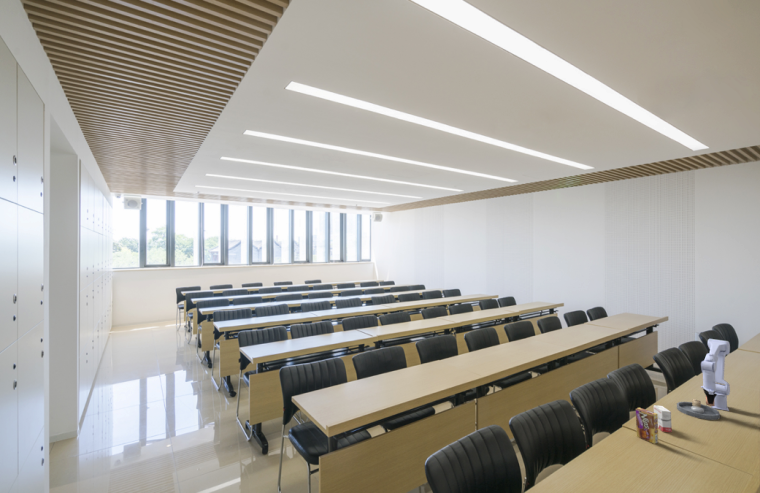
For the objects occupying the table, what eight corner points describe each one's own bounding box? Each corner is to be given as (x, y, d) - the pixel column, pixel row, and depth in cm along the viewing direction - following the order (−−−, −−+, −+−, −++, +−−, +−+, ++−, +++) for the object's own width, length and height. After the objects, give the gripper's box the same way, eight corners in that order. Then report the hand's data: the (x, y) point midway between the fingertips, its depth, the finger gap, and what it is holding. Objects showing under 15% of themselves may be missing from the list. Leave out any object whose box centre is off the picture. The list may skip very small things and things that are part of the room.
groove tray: (676, 403, 232) (676, 399, 233) (717, 411, 220) (716, 407, 220) (677, 413, 217) (677, 409, 217) (722, 422, 204) (721, 418, 204)
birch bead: (692, 406, 226) (691, 398, 226) (700, 407, 223) (700, 400, 224) (692, 408, 223) (692, 400, 223) (701, 410, 220) (700, 402, 220)
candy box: (659, 442, 184) (658, 413, 184) (654, 444, 182) (653, 415, 183) (640, 434, 192) (639, 407, 192) (636, 436, 190) (635, 408, 191)
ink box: (672, 432, 194) (671, 411, 194) (662, 432, 195) (661, 411, 195) (663, 425, 202) (662, 405, 202) (653, 424, 203) (653, 404, 203)
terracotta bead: (705, 403, 218) (705, 394, 218) (714, 404, 215) (714, 396, 215) (706, 405, 215) (706, 396, 215) (715, 406, 212) (714, 398, 212)
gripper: (699, 376, 224) (700, 397, 223) (701, 382, 212) (702, 404, 212) (714, 378, 219) (715, 399, 219) (717, 385, 208) (718, 407, 207)
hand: (710, 402), depth 215 cm, fingers closed on terracotta bead, 4 cm apart
